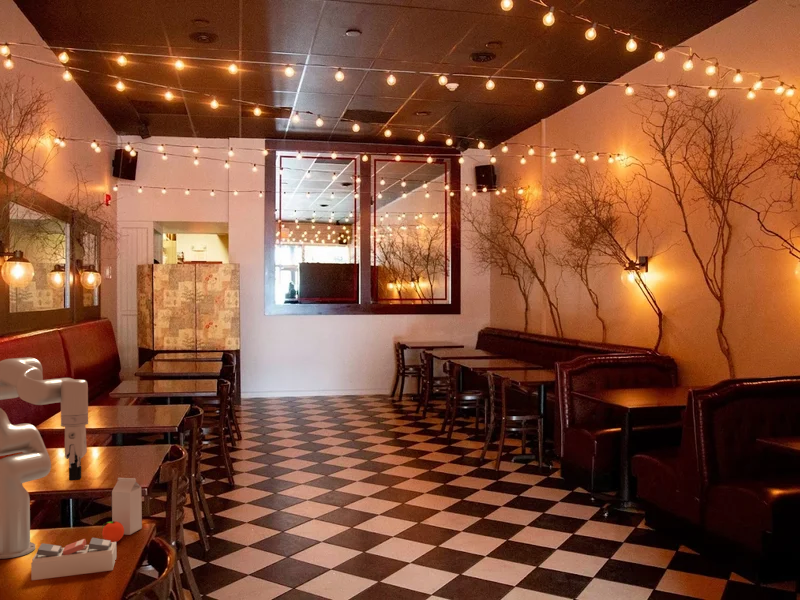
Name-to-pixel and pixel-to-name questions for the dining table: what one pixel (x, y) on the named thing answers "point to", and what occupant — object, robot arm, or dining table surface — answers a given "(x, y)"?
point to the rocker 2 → (99, 544)
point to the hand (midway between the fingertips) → (75, 479)
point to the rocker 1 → (49, 550)
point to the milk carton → (127, 504)
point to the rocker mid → (74, 547)
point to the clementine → (113, 531)
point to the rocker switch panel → (73, 563)
